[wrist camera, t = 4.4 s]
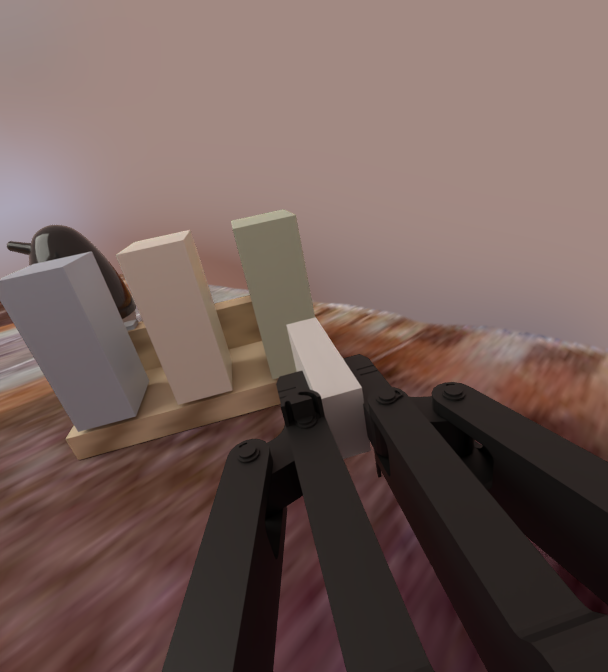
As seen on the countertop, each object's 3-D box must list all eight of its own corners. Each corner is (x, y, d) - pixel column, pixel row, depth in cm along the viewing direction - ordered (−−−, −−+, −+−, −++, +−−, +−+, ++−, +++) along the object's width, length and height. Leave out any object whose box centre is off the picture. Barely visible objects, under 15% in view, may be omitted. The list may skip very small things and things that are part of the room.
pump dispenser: (83, 336, 51) (28, 228, 44) (155, 320, 51) (111, 211, 45) (45, 372, 42) (-32, 243, 35) (132, 353, 42) (72, 221, 35)
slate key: (78, 432, 25) (-11, 282, 20) (100, 393, 29) (32, 264, 25) (135, 416, 25) (62, 266, 21) (149, 380, 30) (91, 251, 25)
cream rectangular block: (178, 404, 26) (115, 255, 21) (185, 371, 30) (134, 242, 25) (232, 390, 26) (183, 239, 21) (231, 359, 30) (190, 229, 26)
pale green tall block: (272, 379, 26) (232, 229, 22) (265, 350, 31) (231, 220, 26) (324, 365, 27) (295, 215, 22) (309, 339, 31) (283, 209, 27)
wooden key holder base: (78, 460, 26) (33, 387, 23) (115, 389, 35) (86, 330, 32) (340, 387, 28) (328, 312, 25) (313, 337, 37) (301, 278, 34)
